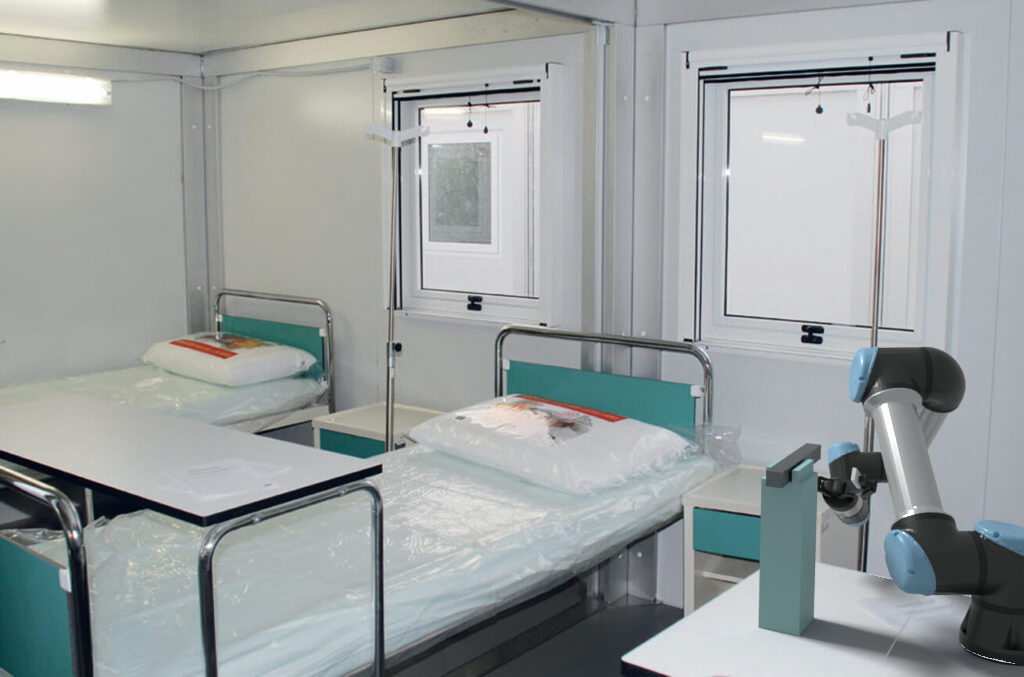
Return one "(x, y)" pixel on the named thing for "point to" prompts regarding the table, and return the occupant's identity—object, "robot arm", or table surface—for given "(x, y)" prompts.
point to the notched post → (788, 551)
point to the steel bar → (791, 465)
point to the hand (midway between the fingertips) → (820, 469)
